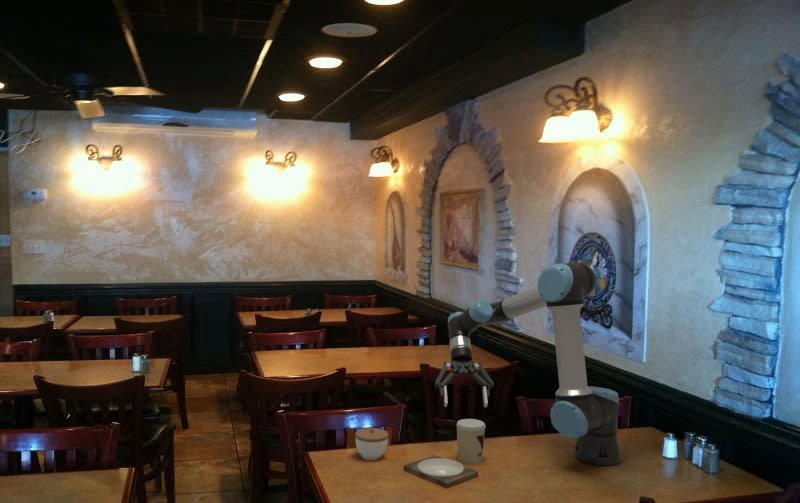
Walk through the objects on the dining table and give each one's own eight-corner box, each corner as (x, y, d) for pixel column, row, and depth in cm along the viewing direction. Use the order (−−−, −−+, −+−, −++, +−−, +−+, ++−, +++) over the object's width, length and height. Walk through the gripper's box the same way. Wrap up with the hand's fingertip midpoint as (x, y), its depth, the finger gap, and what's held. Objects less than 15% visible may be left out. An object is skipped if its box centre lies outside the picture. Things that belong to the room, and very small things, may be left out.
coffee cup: (483, 466, 220) (484, 428, 219) (453, 463, 222) (454, 426, 221) (485, 455, 229) (486, 419, 228) (457, 453, 231) (458, 417, 230)
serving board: (478, 476, 211) (478, 469, 211) (446, 488, 202) (446, 481, 202) (434, 459, 224) (435, 453, 224) (403, 470, 215) (403, 463, 215)
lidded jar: (394, 457, 226) (395, 428, 225) (371, 465, 218) (371, 436, 217) (371, 448, 233) (372, 421, 232) (347, 456, 225) (348, 427, 225)
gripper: (493, 357, 253) (500, 410, 239) (425, 357, 251) (428, 410, 237) (497, 346, 247) (504, 399, 233) (427, 345, 246) (430, 399, 232)
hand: (466, 405), depth 235 cm, fingers open, 13 cm apart
